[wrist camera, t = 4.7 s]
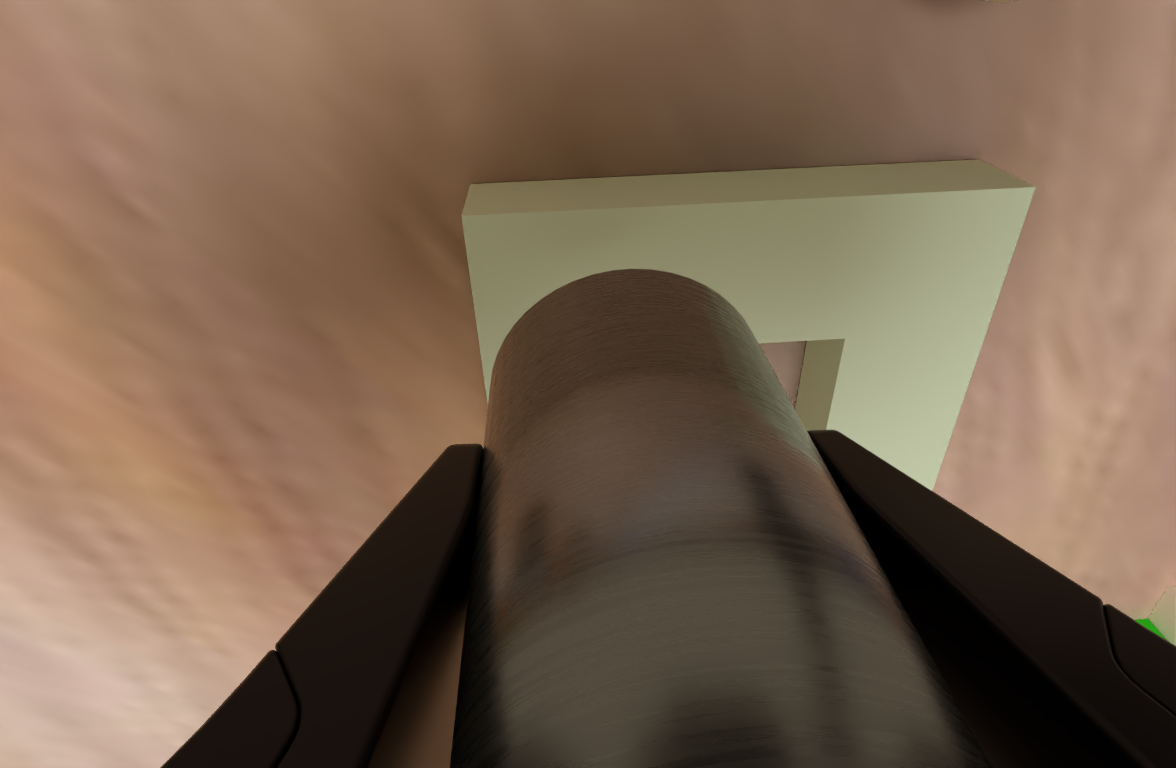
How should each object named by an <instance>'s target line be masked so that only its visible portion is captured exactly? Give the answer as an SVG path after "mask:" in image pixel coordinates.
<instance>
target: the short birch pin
mask: <svg viewBox="0 0 1176 768" xmlns="http://www.w3.org/2000/svg"><path fill="white" fill-rule="evenodd" d="M982 1H989V2H1010V1H1017V0H982Z"/></svg>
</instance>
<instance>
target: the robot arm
mask: <svg viewBox="0 0 1176 768" xmlns="http://www.w3.org/2000/svg"><path fill="white" fill-rule="evenodd" d="M807 432H808V434H809V436H810V438H811V439H812V441H813V443H814V445H815V447H816V449H817V450H818V452H819V454H820V456H821V458H822V459H823V461H824V463H825V465H826V467H827V468H828V470H829V472H830V474H831V476H832V478H833V479H834V481H835V483H836V485H837V487H838V488H839V490H840V492H841V494H842V496H843V498H844V499H845V501H846V503H847V505H848V507H849V508H850V510H851V512H852V514H853V516H854V517H855V519H856V521H857V523H858V525H859V527H860V528H861V530H862V532H863V534H864V536H865V537H866V539H867V541H868V543H869V545H870V546H871V548H872V550H873V552H874V554H875V556H876V557H877V559H878V561H879V563H880V565H881V566H882V568H883V570H884V572H885V574H886V576H887V577H888V579H889V581H890V583H891V585H892V586H893V588H894V590H895V592H896V594H897V595H898V597H899V599H900V601H901V603H902V605H903V606H904V608H905V610H906V612H907V614H908V615H909V617H910V619H911V621H912V623H913V624H914V626H915V628H916V630H917V632H918V634H919V635H920V637H921V639H922V641H923V643H924V644H925V646H926V648H927V650H928V652H929V654H930V655H931V657H932V659H933V661H934V663H935V664H936V666H937V668H938V670H939V672H940V673H941V675H942V677H943V679H944V681H945V683H946V684H947V686H948V688H949V690H950V692H951V693H952V695H953V697H954V699H955V701H956V702H957V704H958V706H959V708H960V710H961V712H962V713H963V715H964V717H965V719H966V721H967V722H968V724H969V726H970V728H971V730H972V732H973V733H974V735H975V737H976V739H977V741H978V742H979V744H980V746H981V748H982V750H983V751H984V753H985V755H986V757H987V759H988V761H989V762H990V764H991V766H992V768H1176V646H1175V645H1173V644H1172V643H1170V642H1169V641H1167V640H1165V639H1164V638H1162V637H1160V636H1159V635H1157V634H1156V633H1154V632H1152V631H1151V630H1149V629H1147V628H1146V627H1144V626H1143V625H1141V624H1140V623H1138V622H1137V621H1135V620H1133V619H1132V618H1130V617H1129V616H1127V615H1126V614H1124V613H1122V612H1121V611H1119V610H1118V609H1116V608H1115V607H1113V606H1112V605H1109V604H1105V605H1103V602H1102V600H1101V599H1100V598H1099V597H1097V596H1096V595H1094V594H1092V593H1091V592H1089V591H1088V590H1086V589H1085V588H1083V587H1081V586H1080V585H1078V584H1077V583H1075V582H1074V581H1072V580H1071V579H1069V578H1067V577H1066V576H1064V575H1063V574H1061V573H1060V572H1058V571H1056V570H1055V569H1053V568H1052V567H1050V566H1049V565H1047V564H1045V563H1044V562H1042V561H1041V560H1039V559H1038V558H1036V557H1035V556H1033V555H1031V554H1030V553H1028V552H1027V551H1025V550H1024V549H1022V548H1020V547H1019V546H1017V545H1016V544H1014V543H1013V542H1011V541H1009V540H1008V539H1006V538H1005V537H1003V536H1002V535H1000V534H999V533H997V532H995V531H994V530H992V529H991V528H989V527H988V526H986V525H984V524H983V523H981V522H980V521H978V520H977V519H975V518H974V517H972V516H970V515H969V514H967V513H966V512H964V511H963V510H961V509H959V508H958V507H956V506H955V505H953V504H952V503H950V502H948V501H947V500H945V499H944V498H942V497H941V496H939V495H938V494H936V493H934V492H933V491H931V490H930V489H928V488H927V487H925V486H923V485H922V484H920V483H919V482H917V481H916V480H914V479H912V478H911V477H909V476H908V475H906V474H905V473H903V472H902V471H900V470H898V469H897V468H895V467H894V466H892V465H891V464H889V463H887V462H886V461H884V460H883V459H881V458H880V457H878V456H877V455H875V454H873V453H872V452H870V451H869V450H867V449H866V448H864V447H862V446H861V445H859V444H858V443H856V442H855V441H853V440H851V439H850V438H848V437H847V436H845V435H844V434H842V433H840V432H839V431H837V430H808V431H807ZM483 451H484V449H483V447H482V446H481V445H480V444H455V445H451V446H449V447H447V448H446V450H445V451H444V452H443V453H442V454H441V455H440V456H439V458H438V459H437V460H436V461H435V462H434V463H433V464H432V466H431V467H430V468H429V469H428V470H427V471H426V472H425V474H424V475H423V476H422V477H421V478H420V479H419V480H418V482H417V483H416V484H415V485H414V486H413V487H412V488H411V490H410V491H409V492H408V493H407V494H406V495H405V497H404V498H403V499H402V500H401V501H400V502H399V503H398V505H397V506H396V507H395V508H394V509H393V510H392V511H391V513H390V514H389V515H388V516H387V517H386V518H385V519H384V521H383V522H382V523H381V524H380V525H379V526H378V527H377V529H376V530H375V531H374V532H373V533H372V534H371V535H370V537H369V538H368V539H367V540H366V541H365V542H364V544H363V545H362V546H361V547H360V548H359V549H358V550H357V552H356V553H355V554H354V555H353V556H352V557H351V558H350V560H349V561H348V562H347V563H346V564H345V565H344V566H343V568H342V569H341V570H340V571H339V572H338V573H337V574H336V576H335V577H334V578H333V579H332V580H331V581H330V582H329V584H328V585H327V586H326V587H325V588H324V589H323V591H322V592H321V593H320V594H319V595H318V596H317V597H316V599H315V600H314V601H313V602H312V603H311V604H310V605H309V607H308V608H307V609H306V610H305V611H304V612H303V613H302V615H301V616H300V617H299V618H298V619H297V620H296V621H295V623H294V624H293V625H292V626H291V627H290V628H289V630H288V631H287V632H286V633H285V634H284V635H283V636H282V638H281V639H280V640H279V641H278V642H277V643H276V645H275V648H276V651H277V652H276V651H275V650H271V651H269V652H268V653H267V654H266V655H265V657H264V658H263V659H262V660H261V661H260V662H259V663H258V665H257V666H256V667H255V668H254V669H253V670H252V671H251V673H250V674H249V675H248V676H247V677H246V678H245V679H244V681H243V682H242V683H241V684H240V685H239V686H238V687H237V688H236V689H235V690H234V692H233V693H232V694H231V695H230V696H229V697H228V698H227V699H226V700H225V701H224V702H223V704H222V705H221V706H220V707H219V708H218V709H217V710H216V711H215V712H214V713H213V714H212V716H211V717H210V718H209V719H208V720H207V721H206V722H205V723H204V724H203V725H202V726H201V727H200V728H199V729H198V730H197V731H196V732H195V734H194V735H193V736H192V737H191V738H190V739H189V740H188V741H187V742H186V743H185V744H184V745H183V746H182V747H181V748H180V749H179V750H178V751H177V752H176V753H175V754H174V755H173V756H172V757H171V758H170V759H169V760H168V761H167V762H166V763H165V764H164V765H163V766H162V767H161V768H450V760H451V750H452V741H453V731H454V722H455V712H456V703H457V694H458V684H459V675H460V665H461V656H462V646H463V637H464V627H465V618H466V609H467V599H468V590H469V580H470V571H471V561H472V553H473V544H474V536H475V527H476V518H477V508H478V499H479V489H480V480H481V470H482V461H483Z"/></svg>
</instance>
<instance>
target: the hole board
mask: <svg viewBox="0 0 1176 768" xmlns="http://www.w3.org/2000/svg"><path fill="white" fill-rule="evenodd" d="M1035 188H1036V187H1035V186H1033V185H1031V184H1029V183H1027V182H1025V181H1023V180H1021V179H1019V178H1017V177H1015V176H1013V175H1011V174H1009V173H1007V172H1005V171H1003V170H1001V169H999V168H997V167H995V166H993V165H991V164H988V163H986V162H984V161H982V160H980V159H975V160H954V161H934V162H913V163H893V164H872V165H852V166H831V167H811V168H790V169H770V170H749V171H729V172H708V173H688V174H667V175H647V176H626V177H606V178H585V179H565V180H544V181H524V182H503V183H483V184H470V187H469V190H468V194H467V198H466V201H465V205H464V208H463V212H462V215H461V217H462V225H463V232H464V239H465V246H466V253H467V261H468V268H469V275H470V282H471V289H472V296H473V304H474V311H475V318H476V325H477V332H478V340H479V347H480V354H481V361H482V368H483V376H484V383H485V390H486V397H487V404H488V401H489V391H490V383H491V376H492V369H493V366H494V363H495V359H496V356H497V353H498V351H499V349H500V347H501V345H502V343H503V341H504V339H505V338H506V336H507V335H508V333H509V332H510V330H511V329H512V327H513V326H514V324H515V323H516V322H517V321H518V320H519V319H520V318H521V317H522V316H523V314H524V313H525V312H526V311H527V310H529V309H530V308H531V307H532V306H533V305H535V304H536V303H537V302H538V301H539V300H541V299H542V298H544V297H545V296H547V295H548V294H550V293H551V292H553V291H554V290H556V289H558V288H560V287H562V286H564V285H566V284H568V283H570V282H572V281H575V280H578V279H581V278H584V277H587V276H590V275H593V274H597V273H602V272H607V271H612V270H623V269H652V270H659V271H665V272H671V273H674V274H678V275H681V276H684V277H688V278H690V279H693V280H695V281H697V282H699V283H701V284H704V285H706V286H707V287H709V288H710V289H712V290H714V291H715V292H717V293H718V294H720V295H721V296H722V297H724V298H725V299H726V300H727V301H728V302H729V303H731V304H732V305H733V306H734V307H735V308H736V310H737V311H738V312H739V313H740V314H741V315H742V317H743V318H744V319H745V321H746V323H747V324H748V326H749V327H750V329H751V331H752V332H753V334H754V336H755V338H756V340H757V342H758V343H777V342H794V341H807V343H806V348H805V354H804V360H803V366H802V371H801V377H800V383H799V389H798V395H797V400H796V406H795V410H796V412H797V414H798V416H799V418H800V420H801V421H802V423H803V425H804V427H805V429H806V430H807V431H808V430H837V431H839V432H840V433H842V434H844V435H845V436H847V437H848V438H850V439H851V440H853V441H855V442H856V443H858V444H859V445H861V446H862V447H864V448H866V449H867V450H869V451H870V452H872V453H873V454H875V455H877V456H878V457H880V458H881V459H883V460H884V461H886V462H887V463H889V464H891V465H892V466H894V467H895V468H897V469H898V470H900V471H902V472H903V473H905V474H906V475H908V476H909V477H911V478H912V479H914V480H916V481H917V482H919V483H920V484H922V485H923V486H925V487H927V488H928V489H930V490H931V491H932V490H933V487H934V484H935V481H936V478H937V476H938V473H939V470H940V467H941V464H942V461H943V458H944V455H945V452H946V449H947V446H948V443H949V440H950V437H951V434H952V432H953V429H954V426H955V423H956V420H957V417H958V414H959V411H960V408H961V405H962V402H963V399H964V396H965V393H966V390H967V388H968V385H969V382H970V379H971V376H972V373H973V370H974V367H975V364H976V361H977V358H978V355H979V352H980V349H981V347H982V344H983V341H984V338H985V335H986V332H987V329H988V326H989V323H990V320H991V317H992V314H993V311H994V308H995V305H996V303H997V300H998V297H999V294H1000V291H1001V288H1002V285H1003V282H1004V279H1005V276H1006V273H1007V270H1008V267H1009V264H1010V261H1011V259H1012V256H1013V253H1014V250H1015V247H1016V244H1017V241H1018V238H1019V235H1020V232H1021V229H1022V226H1023V223H1024V220H1025V218H1026V215H1027V212H1028V209H1029V206H1030V203H1031V200H1032V197H1033V194H1034V191H1035Z"/></svg>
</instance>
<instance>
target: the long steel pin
mask: <svg viewBox="0 0 1176 768" xmlns="http://www.w3.org/2000/svg"><path fill="white" fill-rule="evenodd" d="M483 449H484V451H483V461H482V470H481V480H480V489H479V499H478V508H477V518H476V527H475V536H474V544H473V553H472V561H471V571H470V580H469V590H468V599H467V609H466V618H465V627H464V637H463V646H462V656H461V665H460V675H459V684H458V694H457V703H456V712H455V722H454V731H453V741H452V750H451V760H450V768H992V766H991V764H990V762H989V761H988V759H987V757H986V755H985V753H984V751H983V750H982V748H981V746H980V744H979V742H978V741H977V739H976V737H975V735H974V733H973V732H972V730H971V728H970V726H969V724H968V722H967V721H966V719H965V717H964V715H963V713H962V712H961V710H960V708H959V706H958V704H957V702H956V701H955V699H954V697H953V695H952V693H951V692H950V690H949V688H948V686H947V684H946V683H945V681H944V679H943V677H942V675H941V673H940V672H939V670H938V668H937V666H936V664H935V663H934V661H933V659H932V657H931V655H930V654H929V652H928V650H927V648H926V646H925V644H924V643H923V641H922V639H921V637H920V635H919V634H918V632H917V630H916V628H915V626H914V624H913V623H912V621H911V619H910V617H909V615H908V614H907V612H906V610H905V608H904V606H903V605H902V603H901V601H900V599H899V597H898V595H897V594H896V592H895V590H894V588H893V586H892V585H891V583H890V581H889V579H888V577H887V576H886V574H885V572H884V570H883V568H882V566H881V565H880V563H879V561H878V559H877V557H876V556H875V554H874V552H873V550H872V548H871V546H870V545H869V543H868V541H867V539H866V537H865V536H864V534H863V532H862V530H861V528H860V527H859V525H858V523H857V521H856V519H855V517H854V516H853V514H852V512H851V510H850V508H849V507H848V505H847V503H846V501H845V499H844V498H843V496H842V494H841V492H840V490H839V488H838V487H837V485H836V483H835V481H834V479H833V478H832V476H831V474H830V472H829V470H828V468H827V467H826V465H825V463H824V461H823V459H822V458H821V456H820V454H819V452H818V450H817V449H816V447H815V445H814V443H813V441H812V439H811V438H810V436H809V434H808V432H807V430H806V429H805V427H804V425H803V423H802V421H801V420H800V418H799V416H798V414H797V412H796V410H795V409H794V407H793V405H792V403H791V401H790V400H789V398H788V396H787V394H786V392H785V391H784V389H783V387H782V385H781V383H780V381H779V380H778V378H777V376H776V374H775V372H774V371H773V369H772V367H771V365H770V363H769V361H768V360H767V358H766V356H765V354H764V352H763V351H762V349H761V347H760V345H759V343H758V342H757V340H756V338H755V336H754V334H753V332H752V331H751V329H750V327H749V326H748V324H747V323H746V321H745V319H744V318H743V317H742V315H741V314H740V313H739V312H738V311H737V310H736V308H735V307H734V306H733V305H732V304H731V303H729V302H728V301H727V300H726V299H725V298H724V297H722V296H721V295H720V294H718V293H717V292H715V291H714V290H712V289H710V288H709V287H707V286H706V285H704V284H701V283H699V282H697V281H695V280H693V279H690V278H688V277H684V276H681V275H678V274H674V273H671V272H665V271H659V270H652V269H623V270H612V271H607V272H602V273H597V274H593V275H590V276H587V277H584V278H581V279H578V280H575V281H572V282H570V283H568V284H566V285H564V286H562V287H560V288H558V289H556V290H554V291H553V292H551V293H550V294H548V295H547V296H545V297H544V298H542V299H541V300H539V301H538V302H537V303H536V304H535V305H533V306H532V307H531V308H530V309H529V310H527V311H526V312H525V313H524V314H523V316H522V317H521V318H520V319H519V320H518V321H517V322H516V323H515V324H514V326H513V327H512V329H511V330H510V332H509V333H508V335H507V336H506V338H505V339H504V341H503V343H502V345H501V347H500V349H499V351H498V353H497V356H496V359H495V363H494V366H493V369H492V376H491V383H490V391H489V401H488V410H487V420H486V429H485V438H484V448H483Z"/></svg>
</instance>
